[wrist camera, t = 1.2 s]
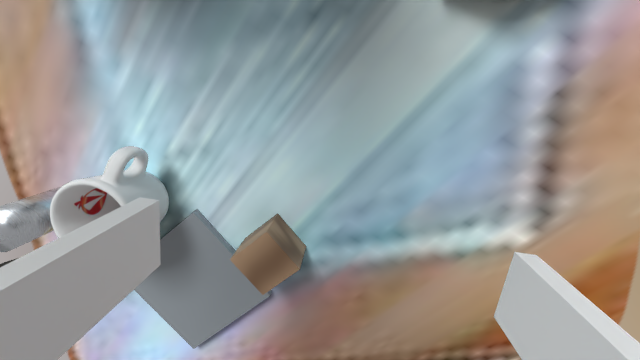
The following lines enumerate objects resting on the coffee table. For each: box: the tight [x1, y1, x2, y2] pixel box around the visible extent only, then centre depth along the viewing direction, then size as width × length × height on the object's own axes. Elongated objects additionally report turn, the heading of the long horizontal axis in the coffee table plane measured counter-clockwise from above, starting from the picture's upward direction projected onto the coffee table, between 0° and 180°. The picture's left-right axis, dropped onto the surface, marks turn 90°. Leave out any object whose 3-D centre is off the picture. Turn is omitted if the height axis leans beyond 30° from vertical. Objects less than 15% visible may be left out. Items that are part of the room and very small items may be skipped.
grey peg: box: [0, 187, 61, 252], centre depth 32 cm, size 4×4×9 cm
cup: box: [50, 146, 169, 238], centre depth 32 cm, size 11×8×8 cm
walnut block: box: [230, 214, 306, 295], centre depth 34 cm, size 5×5×5 cm
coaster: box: [134, 210, 272, 349], centre depth 38 cm, size 13×13×1 cm
